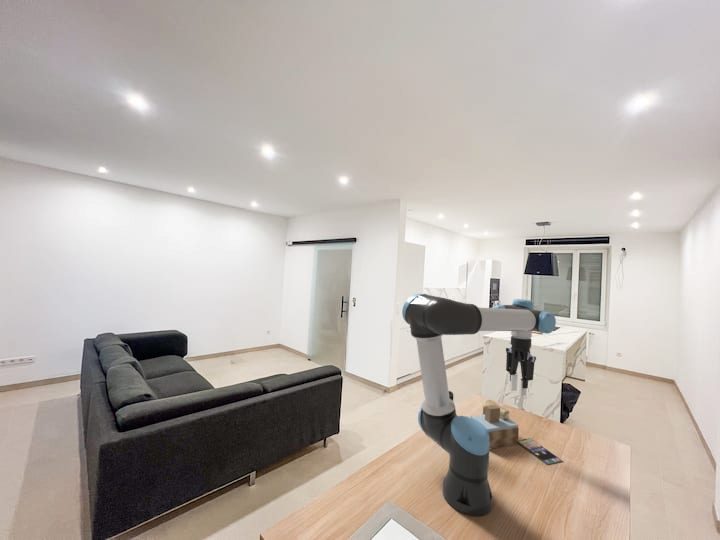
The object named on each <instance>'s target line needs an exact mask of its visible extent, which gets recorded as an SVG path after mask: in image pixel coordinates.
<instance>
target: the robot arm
mask: <svg viewBox="0 0 720 540" xmlns="http://www.w3.org/2000/svg"><path fill="white" fill-rule="evenodd" d="M401 313H402V318H403V320H404V321H405V322H406V323H407V325H409V328H410V334H411V335H410V336H412V337H413V338H414V339H415V340H416V347H417V353H418V359H419V360H418V361H419V367H420V374H421V381H422V388H423V392H424V393H423V395H424V400H423V401H422V403H421V406H420V408H419V411H418V413H417V414H418V415H417V422H418V425H419V427H420V429H421V430H422V432H424V434H425V435H426V436H427V437H428V438H430V439H431V440H433V442H434V443H436V444H437V445H438V446H439V447H441V448H442V449H443V450H444V451H445V452H446V453H448V455H449V463H448V464H449V466H448V469H447V472H446V475H445V477H444V478H443V482H442V489H441V490H442V491H441V492H442V496H443V498H444V500H445V501H446V502H447V504H449V506H450V507H452V508H453V509H454V510H456V511H458V512H460V513H462V514H464V515H467V516H473V517H481V516H485V515H487V514H489V513H490V512H491V511H492V508H493V501H494V500H493V494H492V490H491V487H490V482H489V479H488V476H489V473H488V472H489V462H490V450H491V449H490V442H489V433H488V431H487V429H486V428H485V426H484V425H483V424H481V423H480V422H479V421H477V420H475V419H473V418H472V419H471V417H469V416H465V415H457V411H456V404H455V402H454V400H453V401H452V400H451V399H450V398H449V391H450V390H449V385H448V378H447V370H446V363H445V362H446V361H445V355H444V347H443V341H442V340H443V339H442V337H443V336H444V335H445V336H455V335H456V336H463V335H475V334H478V333H479V332H510V335H511V336H510V345H511V347H506V348H505V351H506V352H505V353H506V360H505V361H506V364H505V365H506V367H505V370H506V371H507V372H508V373H509V382H510V387H509V388H510V389H509V391H511V392H516V391H517V390H518V373H517V371H518V367H519V364H520V370H521V371H520V373H521V378H520V380H519V396H520V397H524V396H527V389H528V388H529V387H528V386H529V381H533V380H534V371H535V363H536V361H537V357H536V356H534V355H532V354H531V351H530V349H531V347H532V339H531V338H532V335H533V332H537V333H541V334H548V335H550V334H551V333H553V331H554V330H555V328H556V323H557V320H556V317H555V315H554V314H553V313H552V312H549V311H545V310H537V309H534V302H533V301H532V300H529V299H523V298H522V299H521V298H514V300H512V304H498V305H494V306H492V307H479V306H478V305H476V304H473V303H467V302H466V303H464V302H461V301H456V300H453V299H449V298H445V297H440V296H434V295H430V294H427V293H415V294H412V295H410V296H409V297H408V298H407V299H406V301H405V302H404V303H403V307H402V312H401Z"/></svg>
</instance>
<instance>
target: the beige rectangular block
mask: <svg viewBox="0 0 720 540" xmlns="http://www.w3.org/2000/svg"><path fill="white" fill-rule="evenodd" d="M489 405H496V406H498V407H499V408H500V418H502V419H503V420H504V419H510V410H508V409H507V408H505V407H504V406H502V405H501V404H499V403H498V402H496V401H494V400H492V399H486V400H485V406H489Z"/></svg>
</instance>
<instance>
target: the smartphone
mask: <svg viewBox="0 0 720 540" xmlns="http://www.w3.org/2000/svg"><path fill="white" fill-rule="evenodd" d="M517 445H519V446H520V447H522V449H524V450H526V451H528V452H529V453H530V454H531V455H532V456H534V457H536V458H537V459H538V460H539V461H541V462H542V463H544V464H545V465H546V466H551V465H554V464H560V463H563V462H564V461H563V460H562V459H561V458H560V457H558V456H557V455H555V454H554V453H552V452H551V451H550V450H548V449H547V448H545V447H544V446H542V445H541V444H539V443H538V442H537V441H535V440H534V439H533V438H531V437H529V438H524V439H518V444H517Z"/></svg>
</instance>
